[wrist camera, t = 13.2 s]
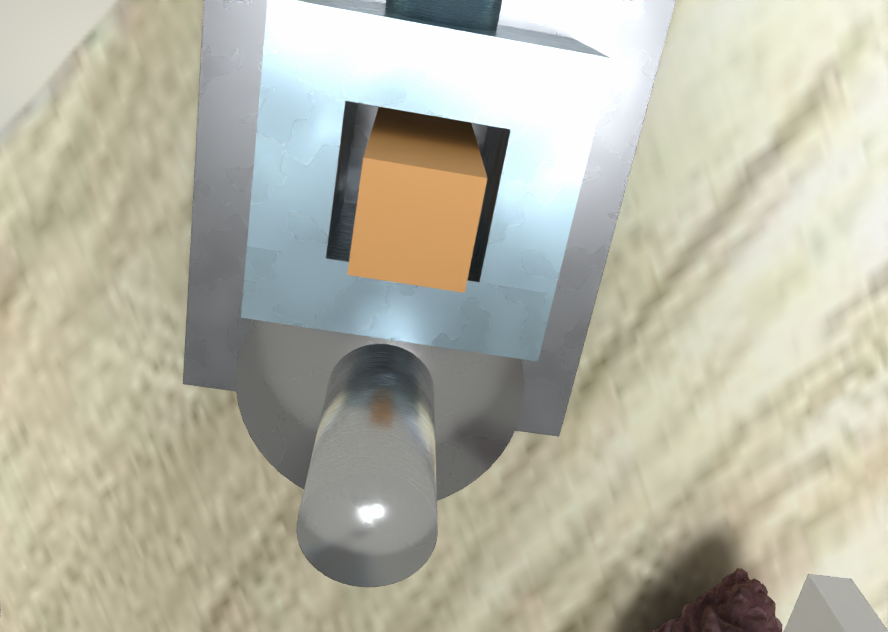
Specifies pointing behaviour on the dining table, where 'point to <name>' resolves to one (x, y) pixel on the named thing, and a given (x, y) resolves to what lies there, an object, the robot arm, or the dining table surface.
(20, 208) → the dining table surface
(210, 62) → the grey square hole fixture
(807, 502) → the dining table surface
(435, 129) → the orange rectangular block
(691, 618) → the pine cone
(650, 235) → the dining table surface
